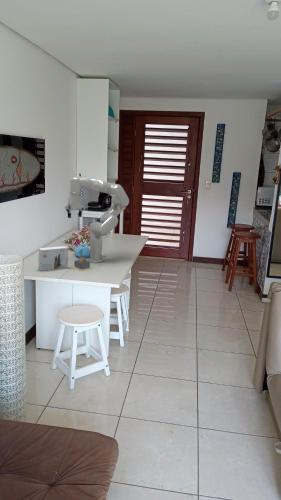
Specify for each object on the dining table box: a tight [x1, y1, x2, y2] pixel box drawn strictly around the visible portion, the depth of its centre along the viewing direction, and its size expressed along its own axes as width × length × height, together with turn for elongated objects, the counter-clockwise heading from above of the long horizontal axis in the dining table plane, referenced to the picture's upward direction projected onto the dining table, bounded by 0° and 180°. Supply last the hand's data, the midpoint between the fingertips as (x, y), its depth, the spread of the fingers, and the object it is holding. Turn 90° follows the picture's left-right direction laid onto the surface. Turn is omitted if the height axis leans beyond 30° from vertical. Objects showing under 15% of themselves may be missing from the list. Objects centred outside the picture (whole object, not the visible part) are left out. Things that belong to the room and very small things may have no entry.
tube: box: [72, 259, 93, 272], centre depth 283 cm, size 11×11×5 cm
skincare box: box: [37, 245, 69, 272], centre depth 275 cm, size 21×5×16 cm, turn 126°
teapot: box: [71, 242, 90, 259], centre depth 314 cm, size 15×15×10 cm
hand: (74, 217), depth 283 cm, fingers open, 9 cm apart
